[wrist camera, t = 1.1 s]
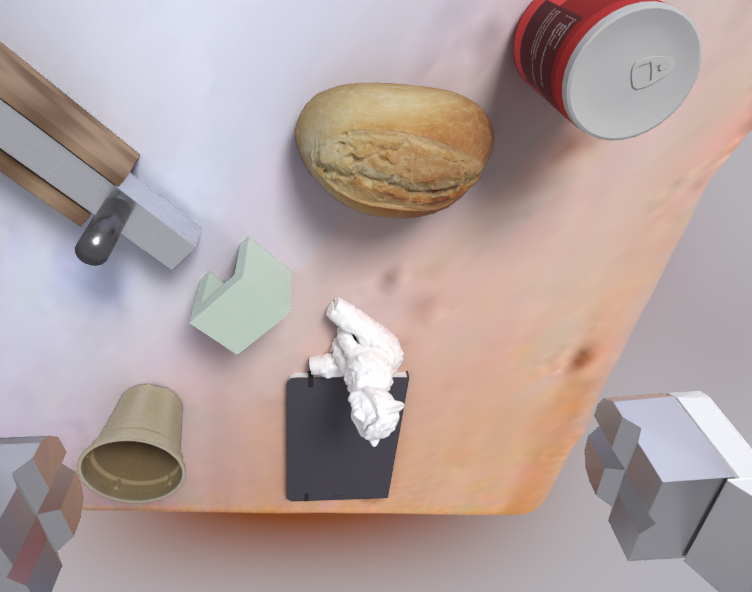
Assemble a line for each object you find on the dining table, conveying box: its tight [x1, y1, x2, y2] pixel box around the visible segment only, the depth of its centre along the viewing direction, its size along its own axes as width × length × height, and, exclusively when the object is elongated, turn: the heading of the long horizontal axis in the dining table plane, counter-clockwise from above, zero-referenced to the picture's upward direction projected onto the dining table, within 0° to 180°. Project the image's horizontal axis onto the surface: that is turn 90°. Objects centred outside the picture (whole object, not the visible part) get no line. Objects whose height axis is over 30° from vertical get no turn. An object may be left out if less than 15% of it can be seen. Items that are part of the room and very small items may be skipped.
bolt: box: [0, 98, 202, 270], centre depth 39 cm, size 16×3×9 cm, turn 41°
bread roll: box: [295, 83, 494, 218], centre depth 41 cm, size 10×15×8 cm, turn 87°
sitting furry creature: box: [309, 297, 405, 447], centre depth 51 cm, size 10×9×12 cm
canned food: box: [514, 0, 702, 140], centre depth 37 cm, size 8×8×11 cm
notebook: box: [287, 371, 409, 501], centre depth 65 cm, size 13×2×21 cm
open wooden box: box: [0, 42, 140, 227], centre depth 39 cm, size 12×5×4 cm, turn 41°
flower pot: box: [77, 384, 186, 503], centre depth 55 cm, size 9×9×9 cm
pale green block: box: [189, 236, 291, 355], centre depth 48 cm, size 5×6×6 cm
